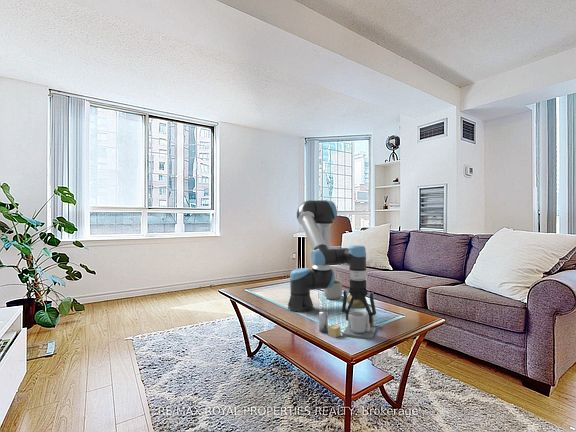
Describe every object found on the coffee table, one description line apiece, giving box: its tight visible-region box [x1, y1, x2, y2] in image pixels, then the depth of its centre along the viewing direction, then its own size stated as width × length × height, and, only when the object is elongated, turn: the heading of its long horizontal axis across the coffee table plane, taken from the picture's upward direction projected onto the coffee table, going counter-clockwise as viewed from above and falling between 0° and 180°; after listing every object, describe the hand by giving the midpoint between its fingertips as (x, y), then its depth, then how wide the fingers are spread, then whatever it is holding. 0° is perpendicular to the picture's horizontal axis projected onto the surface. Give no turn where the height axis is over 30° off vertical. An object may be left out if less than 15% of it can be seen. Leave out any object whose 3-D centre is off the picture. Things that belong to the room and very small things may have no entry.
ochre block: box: [327, 324, 342, 339], centre depth 136 cm, size 4×4×4 cm
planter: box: [323, 280, 343, 300], centre depth 203 cm, size 12×12×11 cm
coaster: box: [341, 325, 377, 341], centre depth 138 cm, size 13×13×1 cm
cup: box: [349, 311, 368, 333], centre depth 139 cm, size 11×8×8 cm
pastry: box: [347, 293, 368, 309], centre depth 184 cm, size 14×12×8 cm
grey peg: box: [318, 310, 329, 334], centre depth 141 cm, size 4×4×9 cm
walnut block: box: [366, 313, 375, 327], centre depth 148 cm, size 5×5×5 cm
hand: (359, 328), depth 138 cm, fingers closed on cup, 8 cm apart
